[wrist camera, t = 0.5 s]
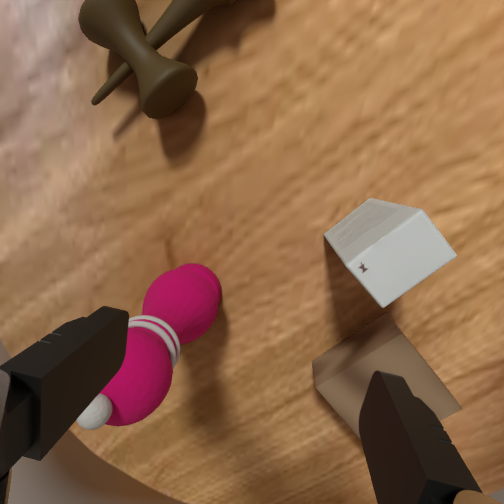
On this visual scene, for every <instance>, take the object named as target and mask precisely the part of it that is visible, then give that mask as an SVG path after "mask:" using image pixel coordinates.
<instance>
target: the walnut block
mask: <svg viewBox="0 0 504 504" xmlns="http://www.w3.org/2000/svg"><path fill="white" fill-rule="evenodd" d="M312 366H313V373H314V380H315V387H316V389H317V390H318V391H319V392H320V393H321V394H322V396H323V397H324V398H325V399H326V400H327V401H328V403H329V404H330V405H331V406H332V407H333V408H334V409H335V411H336V412H337V413H338V414H339V415H340V416H341V417H342V419H343V420H344V421H345V422H346V423H347V424H348V426H349V427H350V428H351V429H352V430H353V431H354V432H355V434H356V435H357V436H358V437H359V438H360V434H359V414H360V410H361V407H362V404H363V401H364V398H365V395H366V392H367V389H368V386H369V383H370V380H371V377H372V375H373V373H374V372H375V371H377V370H378V371H382V372H386V373H391V374H395V375H399V376H402V377H403V378H404V379H405V381H406V383H407V384H408V386H409V388H410V390H411V392H412V394H413V395H414V397H418V398H420V399H421V400H422V401H423V402H424V403H425V404H426V405H427V406H428V407H429V408H430V409H431V410H432V411H433V412H434V413H435V414H436V416H437V418H438V419H439V421H441V420H442V419H444V418H446V417H448V416H450V415H452V414H453V413H455V412H457V411H459V410H461V409H463V408H462V407H461V406H460V405H459V403H458V402H457V401H456V399H455V398H454V397H453V395H452V394H451V393H450V392H449V390H448V389H447V388H446V386H445V385H444V384H443V382H442V381H441V380H440V378H439V377H438V376H437V375H436V373H435V372H434V371H433V370H432V368H431V367H430V366H429V365H428V364H427V362H426V361H425V360H424V359H423V357H422V356H421V355H420V354H419V352H418V351H417V350H416V349H415V347H414V346H413V345H412V344H411V342H410V341H409V340H408V339H407V337H406V336H405V335H404V334H403V332H402V331H401V330H400V329H399V327H398V326H397V325H396V324H395V322H394V321H393V320H392V319H391V317H390V316H389V315H388V314H387V312H386V313H384V314H383V315H381V316H380V317H378V318H377V319H375V320H374V321H372V322H371V323H369V324H368V325H366V326H364V327H363V328H361V329H360V330H358V331H357V332H355V333H354V334H352V335H351V336H349V337H348V338H346V339H345V340H343V341H342V342H340V343H339V344H337V345H336V346H334V347H332V348H331V349H329V350H328V351H326V352H325V353H323V354H322V355H320V356H319V357H317V358H316V359H314V360H313V361H312ZM360 439H361V438H360Z"/></svg>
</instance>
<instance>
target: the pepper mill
mask: <svg viewBox="0 0 504 504" xmlns="http://www.w3.org/2000/svg"><path fill="white" fill-rule="evenodd" d="M220 298H221V286H220V282H219V280H218V278H217V277H216V275H215V274H214V273H213V272H212V271H211V270H210V269H208V268H207V267H205V266H203V265H200V264H185V265H182V266H180V267H178V268H177V269H175V270H171V271H168V272H165V273H164V274H162V275H160V276H159V277H158V278H157V279H156V280H155V281H154V282H153V283H152V284H151V286H150V287H149V289H148V291H147V293H146V296H145V298H144V302H143V310H142V315H140V316H135V317H132V318H130V319H129V324H128V335H127V346H126V355H125V359H124V362H123V364H122V366H121V368H120V370H119V371H118V373H117V374H116V375H115V376H114V377H113V378H112V380H111V381H110V382H109V383H108V384H107V385H106V386H105V388H104V389H103V390H102V391H101V392H100V393H99V394H98V396H97V397H96V398H95V399H94V400H93V401H92V402H91V404H90V405H89V406H88V407H87V408H86V409H85V410H84V412H83V413H82V414H81V415H80V416H79V417H78V418H77V422H78V424H79V425H80V426H81V427H82V428H84V429H87V430H93V429H97V428H99V427H101V426H103V425H104V424H106V425H111V426H125V425H130V424H133V423H136V422H139V421H141V420H143V419H144V418H146V417H147V416H148V415H150V414H151V413H152V412H153V411H154V410H155V409H156V408H158V406H159V405H160V404H161V403H162V401H163V400H164V398H165V396H166V395H167V393H168V391H169V388H170V386H171V381H172V374H173V368H174V366H175V365H176V363H177V361H178V359H179V356H180V345H183V344H186V343H189V342H192V341H194V340H196V339H197V338H199V337H200V336H202V335H203V334H204V333H205V332H206V331H207V330H208V329H209V328H210V326H211V325H212V324H213V322H214V321H215V318H216V316H217V312H218V303H219V301H220Z"/></svg>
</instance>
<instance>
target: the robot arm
mask: <svg viewBox="0 0 504 504" xmlns="http://www.w3.org/2000/svg"><path fill="white" fill-rule="evenodd" d="M128 324H129V314H128V312H127V311H125V310H120V309H116V308H112V307H108V306H103V307H101V308H99V309H98V310H97V311H95V312H94V313H92V314H91V315H89V316H88V317H87V318H86V317H81V318H78V319H75V320H73V321H70V322H67V323H65V324H63V325H62V326H60V327H59V328H57V329H56V330H54V331H53V332H52V334H48V335H47V336H45V337H44V338H42V339H41V341H37V342H36V343H34V344H33V345H31V346H30V347H28V348H27V349H25V350H24V351H22V352H21V353H19V354H18V355H16V356H15V357H13V358H12V359H10V360H9V361H7V362H6V363H4V364H3V365H1V366H0V504H8V498H9V491H10V483H11V475H12V466H13V465H14V464H15V463H16V462H17V461H18V460H19V459H20V458H21V457H22V456H24V457H27V458H32V459H35V460H39V461H41V460H42V458H43V457H44V456H45V455H46V454H47V453H48V452H49V450H50V449H51V448H52V447H53V446H54V445H55V443H56V442H57V441H58V440H59V439H60V438H61V437H62V436H63V434H64V433H65V432H66V431H67V430H68V429H69V428H70V426H71V425H72V424H73V423H74V422H75V421H76V420H77V418H78V417H79V416H80V415H81V414H82V413H83V412H84V410H85V409H86V408H87V407H88V406H89V405H90V404H91V402H92V401H93V400H94V399H95V398H96V397H97V396H98V394H99V393H100V392H101V391H102V390H103V389H104V388H105V386H106V385H107V384H108V383H109V382H110V381H111V380H112V378H113V377H114V376H115V375H116V374H117V373H118V371H119V370H120V368H121V366H122V364H123V362H124V359H125V355H126V346H127V335H128ZM359 434H360V438H361V442H362V446H363V449H364V453H365V457H366V461H367V465H368V468H369V472H370V476H371V480H372V484H373V487H374V491H375V495H376V499H377V503H378V504H501V503H499V502H498V501H496V500H495V499H493V498H491V497H489V496H487V495H485V494H483V493H482V491H481V489H480V488H479V486H478V484H477V483H476V481H475V479H474V478H473V476H472V474H471V473H470V471H469V469H468V468H467V466H466V464H465V463H464V461H463V459H462V458H461V456H460V454H459V453H458V451H457V449H456V448H455V446H454V445H453V444H451V442H452V441H451V439H450V438H449V436H448V434H447V433H446V431H444V430H443V426H442V424H441V423H440V421H439V419H438V418H437V416H436V414H435V413H434V412H433V411H432V410H431V409H430V408H429V407H428V406H427V405H426V404H425V403H424V402H423V401H422V400H421V399H420V398H418V397H414V395H413V394H412V392H411V390H410V388H409V386H408V384H407V383H406V381H405V379H404V378H403V377H402V376H399V375H395V374H391V373H386V372H382V371H378V370H377V371H375V372H374V373H373V375H372V377H371V380H370V383H369V386H368V389H367V392H366V395H365V398H364V401H363V404H362V407H361V410H360V414H359Z"/></svg>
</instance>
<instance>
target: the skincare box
mask: <svg viewBox="0 0 504 504" xmlns="http://www.w3.org/2000/svg"><path fill="white" fill-rule="evenodd" d="M324 237H325V238H326V239H327V241H328V242H329V244H330V245H331V247H332V248H333V249H334V251H335V252H336V253H337V255H338V256H339V258H340V259H341V260H342V262H343V263H344V265H345V267H346V268H347V269H348V270H349V271H350V272H351V273H352V275H353V276H354V277H355V278H356V279H357V280H358V281H359V283H360V284H361V285H362V286H363V287H364V288H365V290H366V291H367V292H368V293H369V294H370V295H371V296H372V298H373V299H374V300H375V301H376V302H377V303H378V304H379V306H380V307H382V308H384V307H386V306H387V305H388V304H390V303H391V302H393V301H394V300H396V299H397V298H399V297H400V296H401V295H403V294H404V293H406V292H407V291H409V290H410V289H411V288H413V287H414V286H416V285H417V284H418V283H420V282H421V281H423V280H424V279H425V278H427V277H428V276H430V275H431V274H432V273H434V272H435V271H437V270H438V269H439V268H441V267H442V266H444V265H445V264H447V263H448V262H450V261H451V260H452V259H454V258H456V257H457V254H456V253H455V252H454V251H453V249H452V248H451V246H450V245H449V244H448V242H447V241H446V240H445V238H444V237H443V236H442V234H441V233H440V232H439V230H438V229H437V228H436V226H435V225H434V224H433V222H432V221H431V220H430V218H429V217H428V216H427V214H426V213H425V212H424V210H423V209H419V208H414V207H409V206H404V205H400V204H396V203H391V202H387V201H382V200H378V199H374V198H369V199H368V200H366V201H365V202H364V203H363V204H361V205H360V206H359V207H358V208H356V209H355V210H354V211H352V212H351V213H350V214H349V215H347V216H346V217H345V218H344V219H342V220H341V221H340V222H339V223H337V224H336V225H335V226H334V227H332V228H331V229H330V230H328V231H327V232H326V233H325V234H324Z"/></svg>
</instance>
